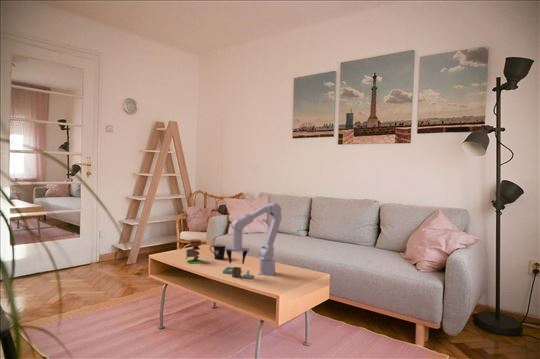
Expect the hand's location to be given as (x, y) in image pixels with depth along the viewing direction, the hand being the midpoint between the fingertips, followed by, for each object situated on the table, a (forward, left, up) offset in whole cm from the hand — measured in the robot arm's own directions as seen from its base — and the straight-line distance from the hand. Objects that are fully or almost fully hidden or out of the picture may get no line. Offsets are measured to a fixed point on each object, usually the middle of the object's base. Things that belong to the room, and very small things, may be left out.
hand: (236, 263), depth 215 cm
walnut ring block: (0, 0, -8) cm, 8 cm away
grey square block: (-7, 0, -8) cm, 11 cm away
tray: (+5, -9, -8) cm, 13 cm away
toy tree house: (+37, -26, -8) cm, 46 cm away
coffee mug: (+24, -40, -8) cm, 47 cm away
